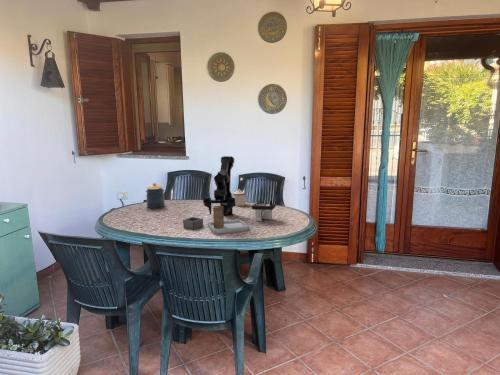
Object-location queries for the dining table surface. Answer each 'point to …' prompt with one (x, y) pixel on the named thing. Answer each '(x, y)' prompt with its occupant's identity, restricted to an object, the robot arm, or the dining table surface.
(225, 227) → the plastic tray
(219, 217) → the walnut block
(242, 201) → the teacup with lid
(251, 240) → the dining table surface
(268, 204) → the black-topped pedestal
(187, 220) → the charcoal open-top box
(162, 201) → the canister
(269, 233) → the dining table surface
